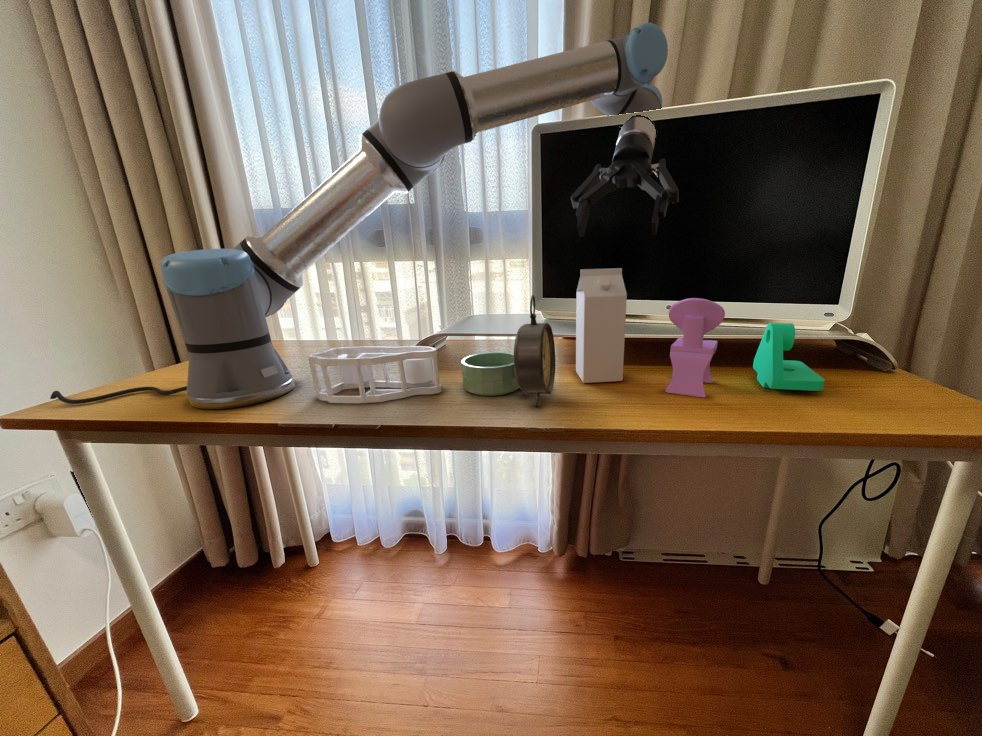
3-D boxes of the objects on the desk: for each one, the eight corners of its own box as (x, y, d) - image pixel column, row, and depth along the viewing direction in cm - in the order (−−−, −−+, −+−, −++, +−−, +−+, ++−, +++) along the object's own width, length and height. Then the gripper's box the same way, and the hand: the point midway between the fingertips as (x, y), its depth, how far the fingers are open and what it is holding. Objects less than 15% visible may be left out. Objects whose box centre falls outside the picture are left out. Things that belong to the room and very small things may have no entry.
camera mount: (823, 397, 66) (838, 331, 62) (769, 395, 68) (781, 330, 64) (797, 374, 77) (809, 317, 73) (751, 373, 79) (761, 316, 75)
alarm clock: (545, 411, 64) (543, 300, 58) (510, 409, 65) (504, 299, 59) (557, 387, 74) (556, 290, 68) (526, 386, 75) (523, 290, 69)
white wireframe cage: (449, 382, 78) (445, 342, 75) (429, 404, 67) (424, 359, 65) (344, 381, 79) (336, 342, 77) (309, 403, 69) (299, 359, 66)
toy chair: (718, 382, 74) (730, 293, 69) (712, 398, 67) (725, 300, 61) (670, 376, 78) (677, 292, 72) (658, 391, 71) (666, 298, 65)
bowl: (452, 393, 72) (449, 365, 70) (481, 376, 81) (479, 350, 79) (507, 400, 68) (506, 370, 67) (531, 381, 77) (530, 354, 75)
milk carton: (575, 372, 82) (576, 268, 75) (612, 370, 82) (616, 266, 75) (583, 384, 75) (584, 271, 68) (622, 381, 76) (628, 269, 69)
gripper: (699, 161, 85) (686, 243, 77) (578, 171, 94) (556, 246, 86) (701, 124, 78) (687, 210, 71) (570, 139, 87) (546, 217, 80)
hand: (615, 230), depth 78 cm, fingers open, 13 cm apart
